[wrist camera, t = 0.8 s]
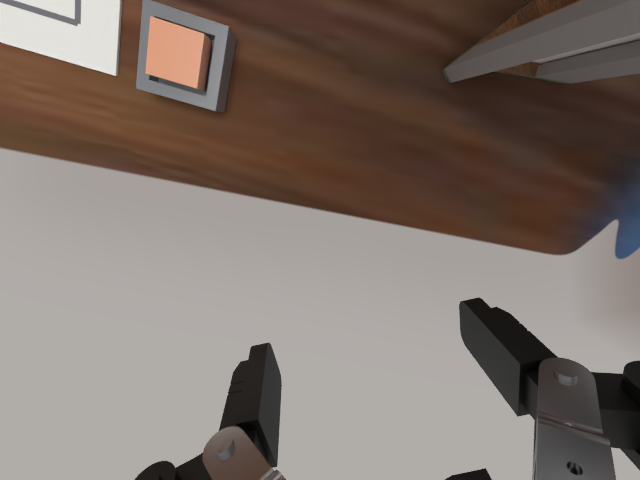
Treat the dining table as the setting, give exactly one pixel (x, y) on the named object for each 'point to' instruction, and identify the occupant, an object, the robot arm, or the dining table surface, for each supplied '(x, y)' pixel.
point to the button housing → (218, 59)
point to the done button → (177, 54)
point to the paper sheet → (65, 30)
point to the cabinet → (558, 43)
